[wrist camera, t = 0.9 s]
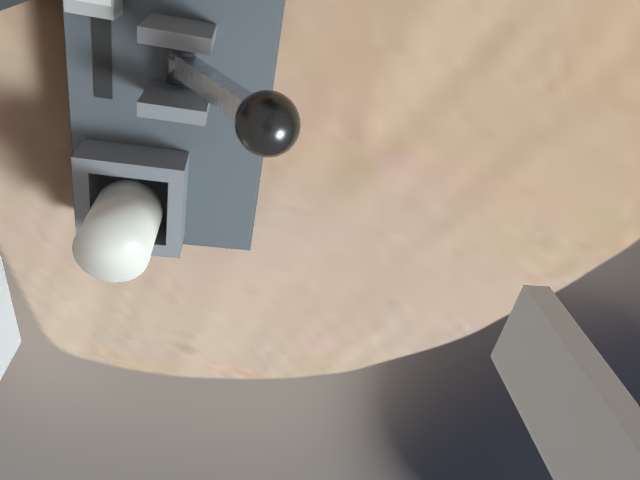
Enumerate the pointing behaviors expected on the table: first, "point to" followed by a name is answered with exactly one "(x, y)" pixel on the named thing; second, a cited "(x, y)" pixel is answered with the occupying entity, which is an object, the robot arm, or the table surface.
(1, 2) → the bottle
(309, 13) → the table surface
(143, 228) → the button ivory
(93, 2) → the slider grey
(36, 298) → the table surface
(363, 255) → the table surface
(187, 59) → the lever
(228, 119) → the panel
